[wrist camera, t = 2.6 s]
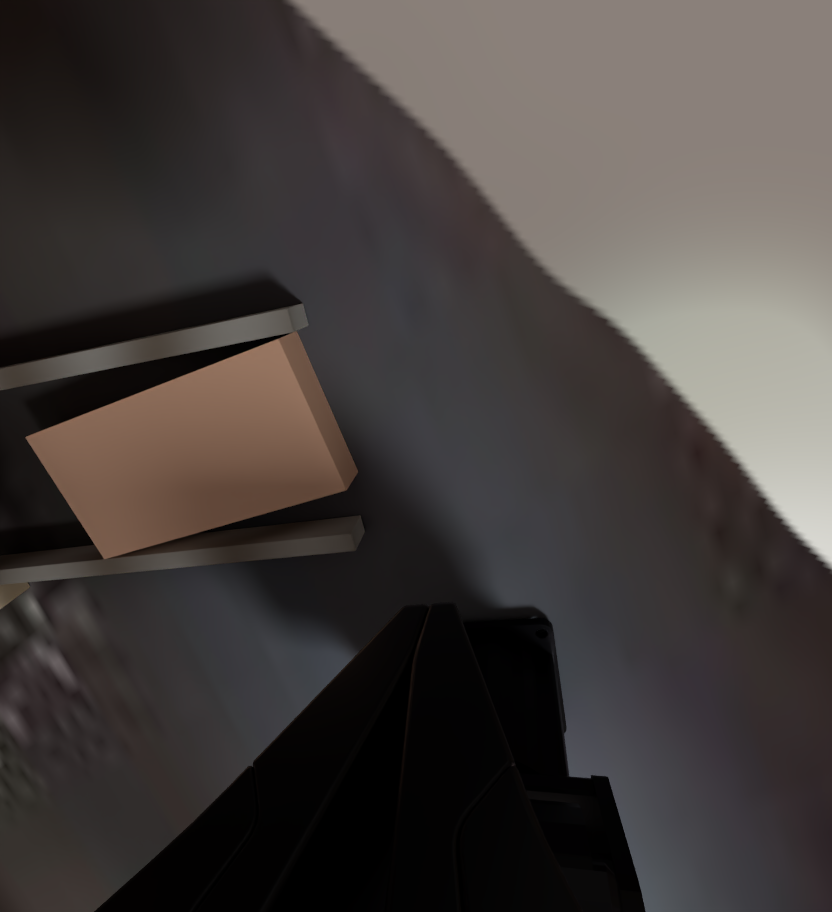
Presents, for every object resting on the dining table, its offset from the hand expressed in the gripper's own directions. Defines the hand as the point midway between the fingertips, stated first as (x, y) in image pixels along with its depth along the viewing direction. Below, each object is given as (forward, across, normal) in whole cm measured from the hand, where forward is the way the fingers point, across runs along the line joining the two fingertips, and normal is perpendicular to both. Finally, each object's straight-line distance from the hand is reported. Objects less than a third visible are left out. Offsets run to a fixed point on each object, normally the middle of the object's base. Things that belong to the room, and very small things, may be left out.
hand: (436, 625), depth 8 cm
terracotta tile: (+12, +12, 0) cm, 17 cm away
